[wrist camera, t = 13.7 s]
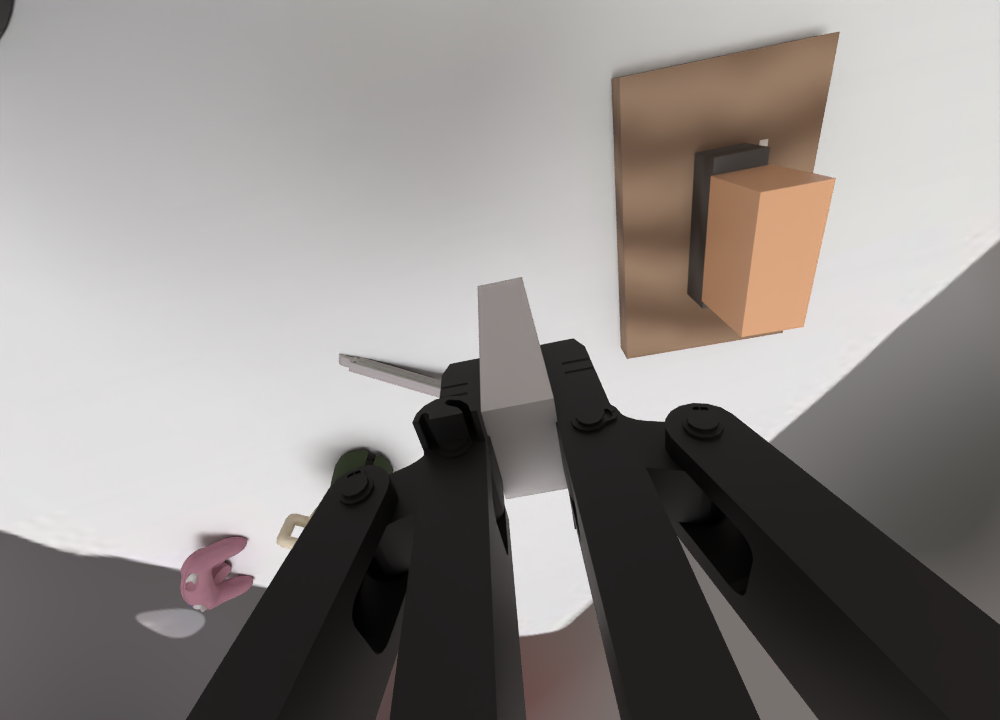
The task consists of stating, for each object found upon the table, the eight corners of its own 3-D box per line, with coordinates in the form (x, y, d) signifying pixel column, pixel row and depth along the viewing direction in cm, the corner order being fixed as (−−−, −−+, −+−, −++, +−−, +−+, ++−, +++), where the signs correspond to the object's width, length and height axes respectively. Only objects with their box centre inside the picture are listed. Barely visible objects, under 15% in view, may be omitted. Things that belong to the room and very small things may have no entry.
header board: (611, 79, 30) (653, 72, 23) (818, 35, 29) (931, 14, 22) (621, 347, 41) (650, 401, 34) (769, 322, 40) (833, 371, 33)
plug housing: (710, 176, 29) (760, 192, 24) (772, 164, 28) (835, 178, 23) (701, 300, 33) (741, 337, 28) (753, 291, 33) (803, 326, 28)
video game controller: (223, 521, 54) (165, 564, 49) (250, 538, 53) (194, 585, 47) (233, 567, 59) (181, 611, 54) (257, 584, 58) (207, 631, 52)
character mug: (422, 460, 48) (404, 569, 37) (401, 500, 51) (379, 611, 40) (324, 429, 45) (273, 537, 34) (309, 474, 48) (257, 585, 37)
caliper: (545, 390, 44) (554, 430, 38) (542, 398, 44) (550, 439, 39) (340, 352, 41) (319, 389, 35) (339, 361, 41) (318, 400, 36)
